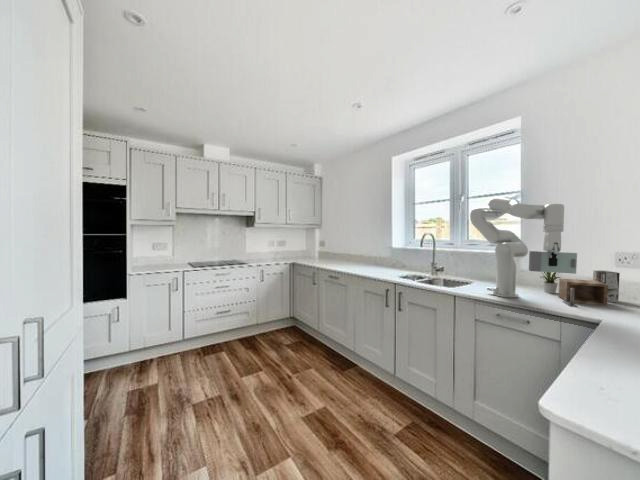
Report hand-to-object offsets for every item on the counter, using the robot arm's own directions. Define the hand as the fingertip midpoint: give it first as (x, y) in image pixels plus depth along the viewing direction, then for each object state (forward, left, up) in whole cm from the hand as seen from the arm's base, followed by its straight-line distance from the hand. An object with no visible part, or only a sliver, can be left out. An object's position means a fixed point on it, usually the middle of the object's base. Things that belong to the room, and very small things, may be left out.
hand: (551, 265), depth 134 cm
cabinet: (+18, +18, -21) cm, 33 cm away
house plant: (+9, +43, -21) cm, 49 cm away
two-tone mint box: (0, 0, -3) cm, 3 cm away
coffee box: (+32, +33, -21) cm, 50 cm away
